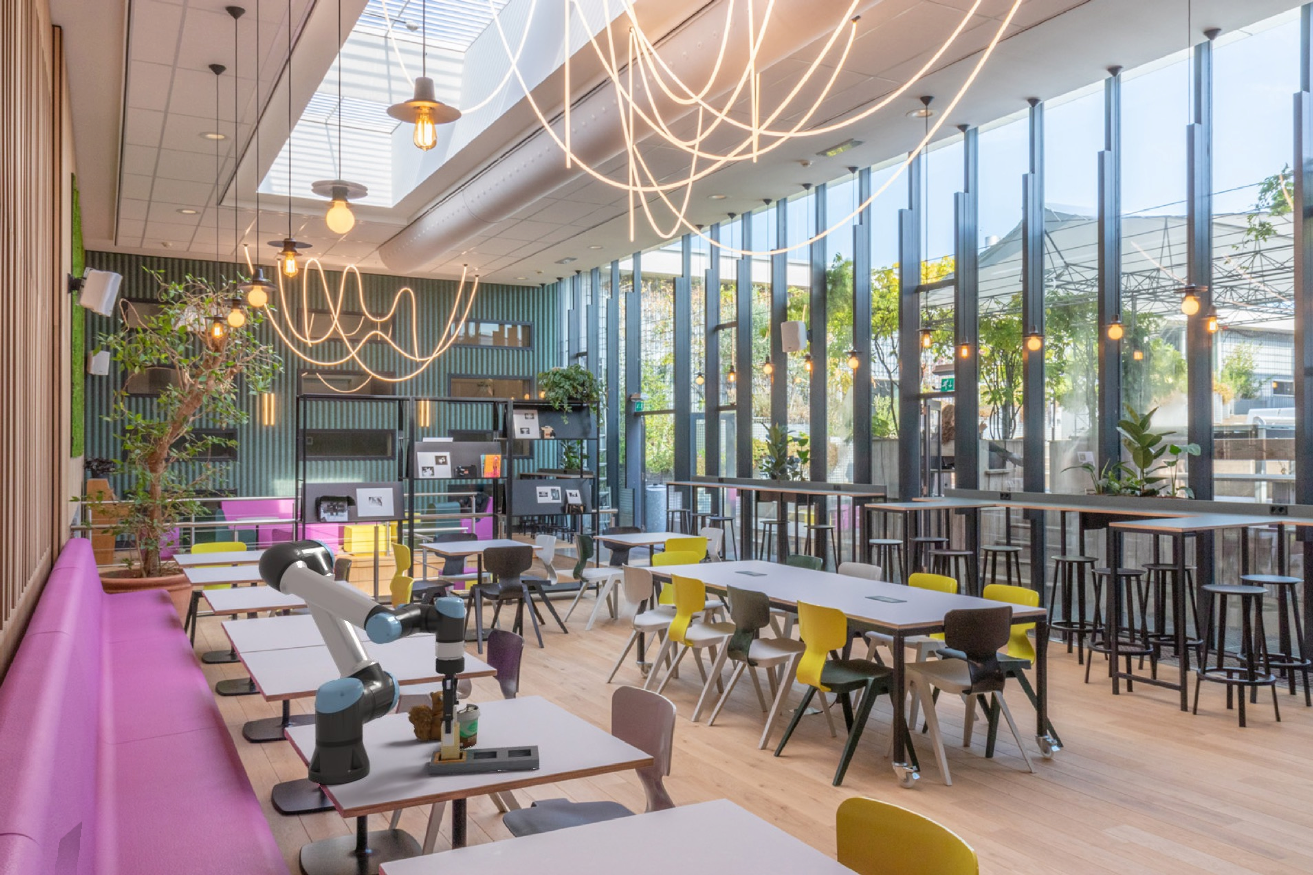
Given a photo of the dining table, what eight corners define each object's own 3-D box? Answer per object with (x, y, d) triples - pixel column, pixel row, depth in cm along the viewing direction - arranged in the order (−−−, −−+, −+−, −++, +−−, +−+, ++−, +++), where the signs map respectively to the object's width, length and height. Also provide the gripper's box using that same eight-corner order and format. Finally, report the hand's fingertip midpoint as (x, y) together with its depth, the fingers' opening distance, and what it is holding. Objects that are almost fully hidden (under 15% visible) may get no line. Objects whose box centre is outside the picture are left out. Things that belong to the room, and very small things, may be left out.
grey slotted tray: (429, 775, 239) (429, 764, 240) (432, 760, 251) (432, 750, 251) (539, 768, 244) (539, 758, 244) (537, 754, 256) (537, 744, 256)
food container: (470, 751, 259) (470, 715, 259) (449, 750, 260) (449, 714, 260) (487, 738, 271) (487, 703, 271) (467, 737, 272) (467, 703, 272)
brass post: (441, 770, 244) (441, 727, 244) (442, 764, 248) (442, 722, 248) (458, 769, 244) (458, 726, 245) (459, 763, 249) (459, 722, 249)
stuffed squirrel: (463, 737, 272) (463, 692, 273) (417, 746, 264) (416, 699, 265) (450, 729, 280) (450, 685, 281) (404, 738, 272) (404, 692, 273)
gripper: (462, 666, 235) (462, 751, 235) (466, 646, 260) (466, 723, 259) (431, 667, 234) (431, 753, 234) (439, 647, 259) (438, 725, 258)
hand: (449, 737), depth 246 cm, fingers open, 13 cm apart
